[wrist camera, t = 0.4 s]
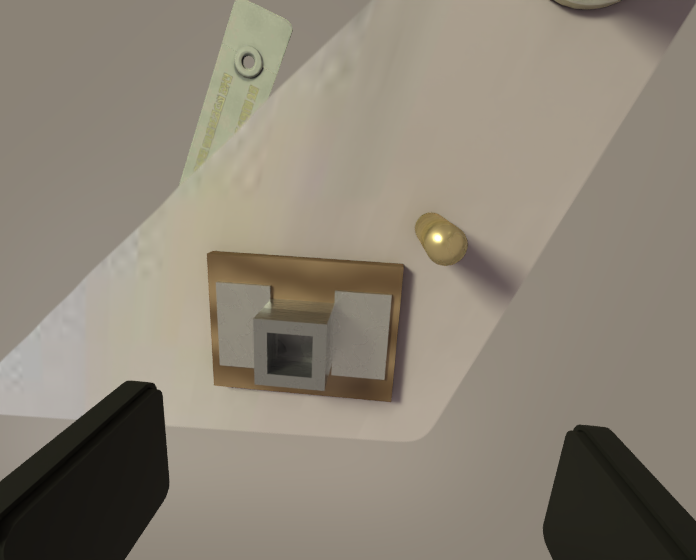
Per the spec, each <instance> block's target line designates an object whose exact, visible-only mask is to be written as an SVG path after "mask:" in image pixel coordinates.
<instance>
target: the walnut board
mask: <svg viewBox="0 0 696 560" xmlns="http://www.w3.org/2000/svg"><path fill="white" fill-rule="evenodd" d="M207 265H208V283H209V301H210V319H211V337H212V356H213V374H214V385H215V386H226V387H237V388H247V389H258V390H269V391H279V392H290V393H301V394H311V395H322V396H333V397H343V398H354V399H365V400H375V401H386V402H391V397H392V387H393V376H394V365H395V355H396V344H397V333H398V323H399V312H400V301H401V291H402V280H403V269H404V267H403V264H395V263H381V262H366V261H351V260H337V259H322V258H307V257H293V256H278V255H264V254H249V253H234V252H220V251H212V252H210V253H208V254H207ZM217 281H220V282H234V283H247V284H261V285H271V298H273V299H286V300H299V301H312V302H325V303H334V300H335V290H342V291H355V292H369V293H382V294H392V298H391V309H390V321H389V332H388V344H387V356H386V367H385V379H384V380H380V379H368V378H357V377H346V376H335V375H331V371H332V364H331V368H330V372H329V376H328V380H327V384H326V387H325V391H319V390H308V389H298V388H287V387H276V386H265V385H255V382H254V368H246V367H235V366H224V365H220V359H219V339H218V319H217V299H216V282H217Z"/></svg>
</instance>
